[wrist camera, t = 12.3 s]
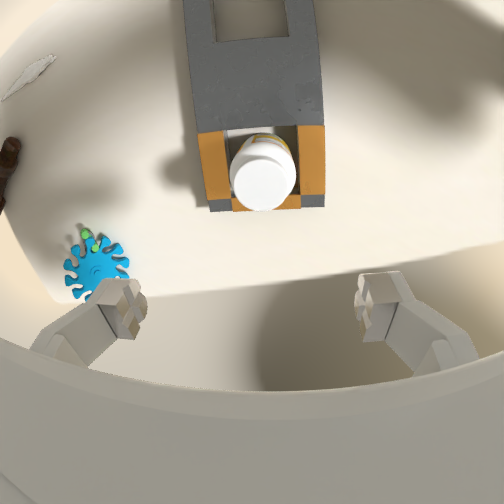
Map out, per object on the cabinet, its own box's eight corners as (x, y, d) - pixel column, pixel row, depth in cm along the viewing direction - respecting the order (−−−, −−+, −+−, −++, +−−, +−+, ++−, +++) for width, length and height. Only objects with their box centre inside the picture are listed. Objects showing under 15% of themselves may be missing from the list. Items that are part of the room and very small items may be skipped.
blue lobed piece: (137, 294, 37) (75, 315, 31) (125, 278, 41) (71, 295, 35) (124, 222, 32) (53, 241, 26) (114, 213, 36) (53, 229, 30)
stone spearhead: (57, 47, 19) (48, 47, 17) (59, 63, 20) (49, 64, 19) (3, 93, 22) (-5, 96, 20) (5, 107, 23) (-3, 110, 21)
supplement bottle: (255, 189, 29) (247, 232, 21) (229, 147, 27) (208, 173, 18) (300, 167, 27) (311, 201, 19) (275, 122, 25) (276, 135, 17)
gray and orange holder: (304, -24, 15) (307, -33, 13) (321, 199, 29) (324, 207, 27) (187, -13, 16) (180, -20, 14) (213, 204, 30) (209, 213, 28)
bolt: (31, 138, 27) (6, 200, 33) (9, 126, 24) (-13, 190, 29) (18, 159, 24) (-3, 223, 30) (-7, 145, 20) (-24, 213, 26)
